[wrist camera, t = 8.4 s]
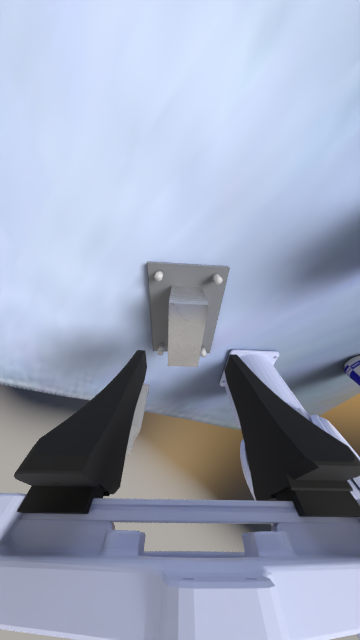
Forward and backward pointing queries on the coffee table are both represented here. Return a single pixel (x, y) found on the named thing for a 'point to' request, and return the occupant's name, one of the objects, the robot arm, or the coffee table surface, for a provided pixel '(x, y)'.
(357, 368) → the beverage can
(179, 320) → the white block
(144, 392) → the power adapter
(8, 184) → the coffee table surface
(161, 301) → the grey plate with pegs
